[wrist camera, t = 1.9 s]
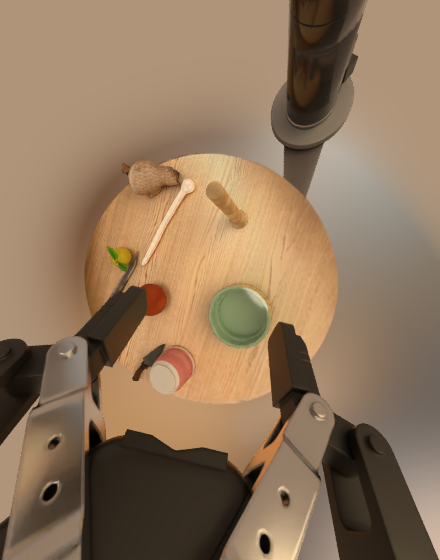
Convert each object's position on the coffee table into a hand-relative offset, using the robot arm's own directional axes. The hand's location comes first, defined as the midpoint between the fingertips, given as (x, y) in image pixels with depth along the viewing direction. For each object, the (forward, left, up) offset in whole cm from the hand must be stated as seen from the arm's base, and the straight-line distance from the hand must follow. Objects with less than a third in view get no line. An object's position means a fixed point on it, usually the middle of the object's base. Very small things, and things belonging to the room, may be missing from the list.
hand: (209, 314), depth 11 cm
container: (+35, 0, -27) cm, 44 cm away
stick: (-7, -15, -36) cm, 39 cm away
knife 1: (+19, -32, -35) cm, 51 cm away
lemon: (+25, -37, -36) cm, 57 cm away
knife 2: (+43, -4, -35) cm, 55 cm away
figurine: (+6, -46, -31) cm, 56 cm away
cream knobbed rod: (+8, -30, -36) cm, 47 cm away
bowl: (+9, +2, -36) cm, 37 cm away
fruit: (+25, -18, -36) cm, 48 cm away
